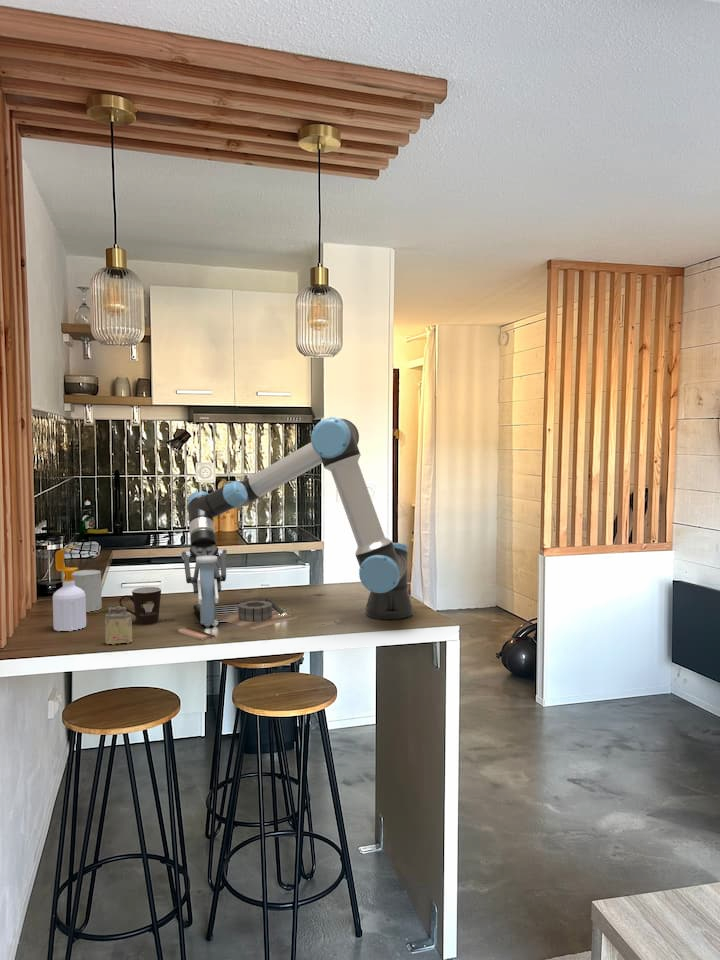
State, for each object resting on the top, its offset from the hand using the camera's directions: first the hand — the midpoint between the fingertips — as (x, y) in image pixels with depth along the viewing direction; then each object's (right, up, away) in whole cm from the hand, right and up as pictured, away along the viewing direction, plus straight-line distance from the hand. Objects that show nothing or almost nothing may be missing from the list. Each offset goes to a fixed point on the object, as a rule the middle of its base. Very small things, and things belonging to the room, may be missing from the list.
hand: (208, 601), depth 200 cm
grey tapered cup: (-47, -8, +31) cm, 57 cm away
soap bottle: (-43, -10, +9) cm, 45 cm away
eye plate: (+11, -9, +15) cm, 21 cm away
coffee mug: (-24, -9, +15) cm, 30 cm away
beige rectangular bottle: (-23, -11, -7) cm, 26 cm away
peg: (-1, -7, +4) cm, 8 cm away
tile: (-1, -10, +4) cm, 11 cm away
